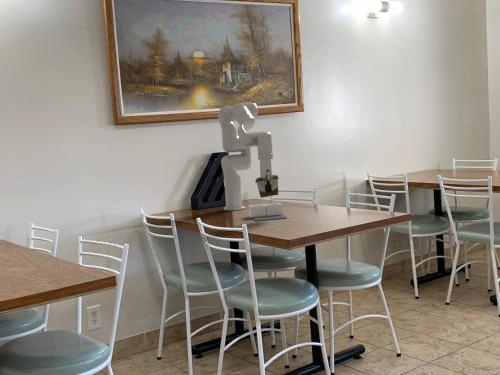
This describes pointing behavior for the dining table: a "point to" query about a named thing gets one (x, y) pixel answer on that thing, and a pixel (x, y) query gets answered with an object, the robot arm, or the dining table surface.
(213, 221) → the dining table surface
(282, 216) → the mat
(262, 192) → the food container
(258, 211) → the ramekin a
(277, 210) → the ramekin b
